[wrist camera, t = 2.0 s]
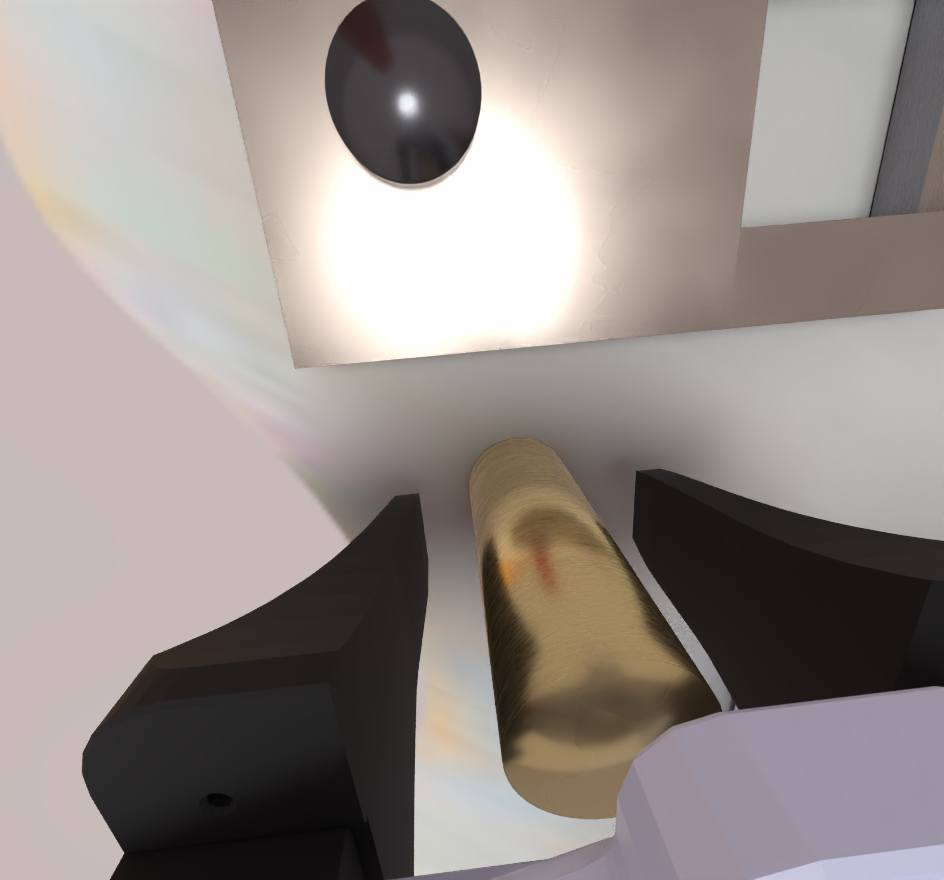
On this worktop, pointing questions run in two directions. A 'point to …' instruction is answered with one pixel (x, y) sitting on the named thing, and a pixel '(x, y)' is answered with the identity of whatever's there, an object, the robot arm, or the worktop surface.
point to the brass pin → (570, 637)
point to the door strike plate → (551, 175)
